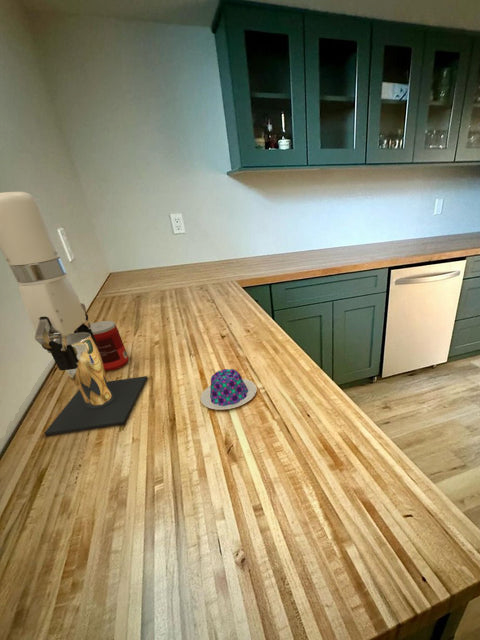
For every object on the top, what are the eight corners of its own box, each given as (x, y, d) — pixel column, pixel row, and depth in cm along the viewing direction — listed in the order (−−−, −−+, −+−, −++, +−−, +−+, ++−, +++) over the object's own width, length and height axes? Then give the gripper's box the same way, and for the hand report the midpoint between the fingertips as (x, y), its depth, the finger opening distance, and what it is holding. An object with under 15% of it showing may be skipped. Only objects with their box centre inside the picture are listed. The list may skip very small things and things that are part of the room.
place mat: (45, 436, 65) (43, 433, 65) (84, 387, 81) (82, 384, 80) (124, 424, 67) (123, 421, 66) (147, 378, 82) (146, 375, 82)
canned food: (120, 355, 95) (105, 318, 90) (135, 361, 91) (121, 323, 85) (93, 367, 90) (75, 329, 85) (108, 374, 86) (90, 334, 80)
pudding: (240, 416, 66) (235, 394, 63) (189, 407, 70) (183, 386, 67) (266, 384, 75) (263, 364, 73) (220, 378, 79) (215, 358, 77)
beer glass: (85, 397, 75) (54, 336, 67) (118, 389, 77) (93, 328, 70) (81, 414, 69) (47, 349, 62) (117, 404, 72) (89, 340, 64)
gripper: (43, 263, 66) (79, 342, 75) (-16, 287, 51) (38, 382, 60) (82, 259, 67) (113, 337, 76) (36, 281, 52) (81, 376, 61)
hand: (80, 357), depth 68 cm, fingers open, 9 cm apart
